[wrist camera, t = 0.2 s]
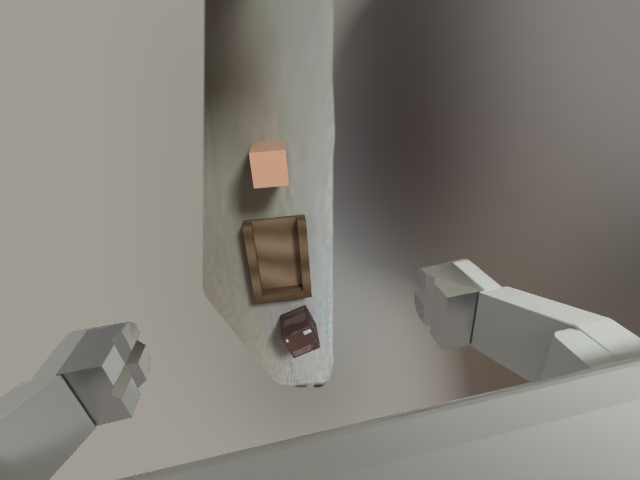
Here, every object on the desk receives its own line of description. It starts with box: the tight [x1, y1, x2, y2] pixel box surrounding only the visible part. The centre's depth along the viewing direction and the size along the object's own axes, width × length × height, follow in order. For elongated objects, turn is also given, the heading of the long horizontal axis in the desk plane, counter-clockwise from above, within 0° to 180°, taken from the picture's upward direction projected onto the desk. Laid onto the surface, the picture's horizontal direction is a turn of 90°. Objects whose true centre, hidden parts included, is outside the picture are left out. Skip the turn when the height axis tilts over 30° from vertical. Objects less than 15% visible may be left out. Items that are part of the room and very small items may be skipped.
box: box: [281, 305, 320, 358], centre depth 65 cm, size 6×6×7 cm
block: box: [249, 140, 289, 188], centre depth 49 cm, size 5×5×10 cm
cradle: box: [242, 215, 312, 304], centre depth 60 cm, size 16×11×4 cm
